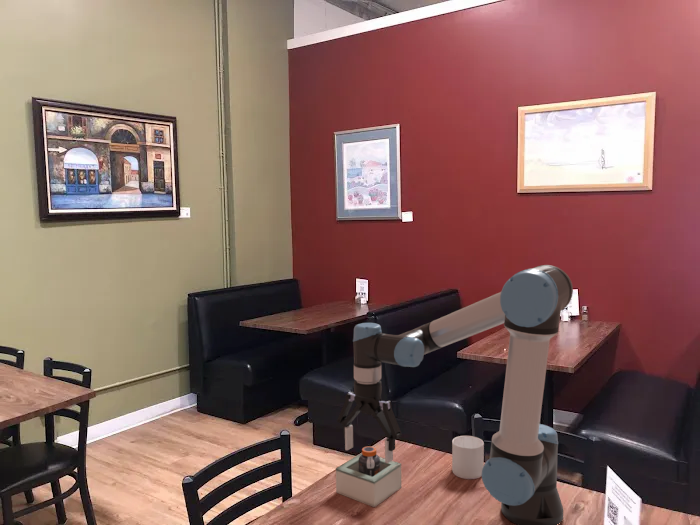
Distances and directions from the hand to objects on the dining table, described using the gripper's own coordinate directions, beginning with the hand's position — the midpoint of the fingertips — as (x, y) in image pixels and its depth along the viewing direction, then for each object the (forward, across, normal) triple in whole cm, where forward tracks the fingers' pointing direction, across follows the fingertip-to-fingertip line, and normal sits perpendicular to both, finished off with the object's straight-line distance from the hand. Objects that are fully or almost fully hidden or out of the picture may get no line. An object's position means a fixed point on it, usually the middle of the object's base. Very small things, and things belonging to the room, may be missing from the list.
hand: (368, 454), depth 159 cm
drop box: (+10, 0, 0) cm, 10 cm away
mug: (+10, -16, -27) cm, 33 cm away
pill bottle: (+10, 0, 0) cm, 10 cm away
